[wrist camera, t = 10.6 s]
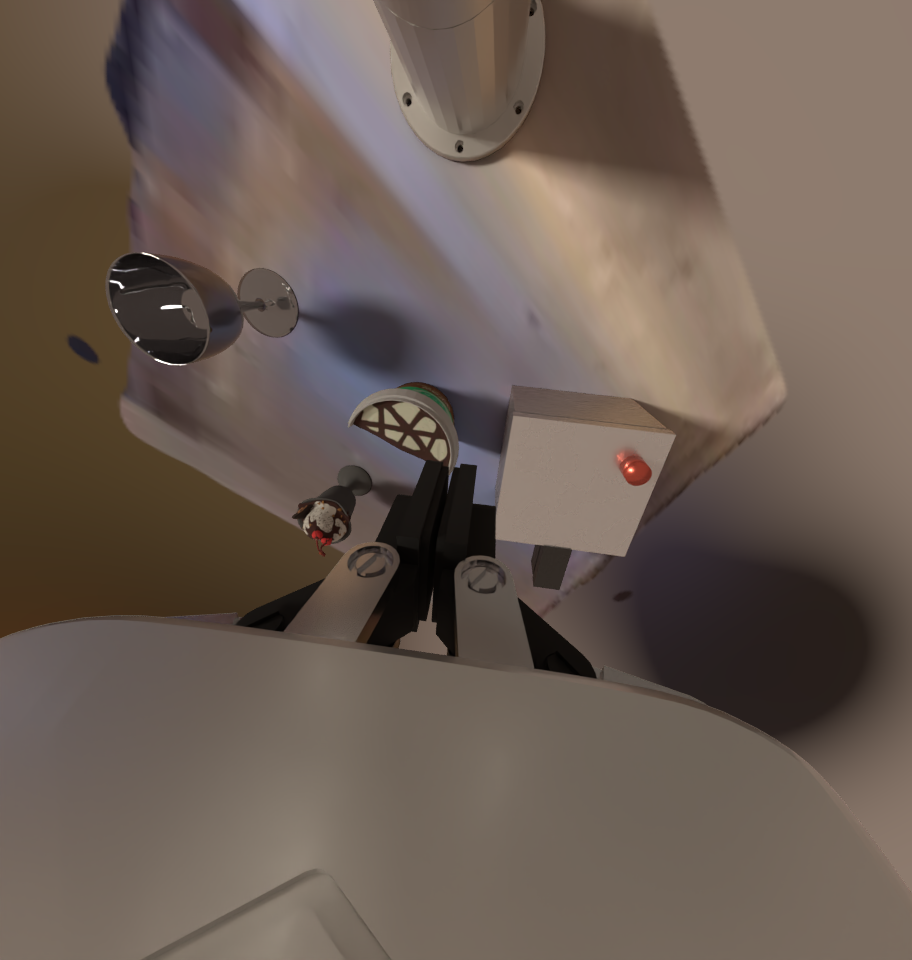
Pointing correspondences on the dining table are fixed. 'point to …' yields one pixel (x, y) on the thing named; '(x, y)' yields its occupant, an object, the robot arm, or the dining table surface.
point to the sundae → (333, 508)
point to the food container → (412, 421)
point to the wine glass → (193, 306)
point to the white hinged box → (571, 416)
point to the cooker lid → (576, 487)
